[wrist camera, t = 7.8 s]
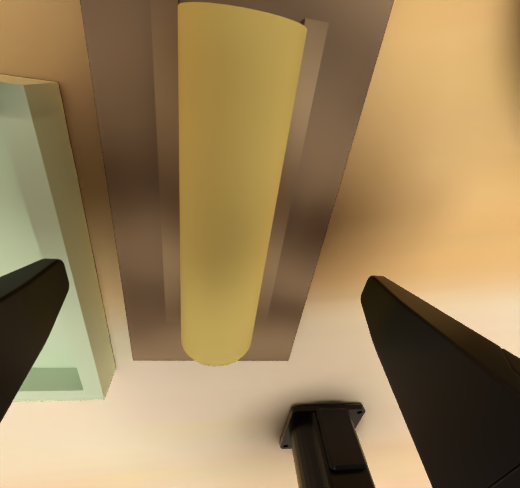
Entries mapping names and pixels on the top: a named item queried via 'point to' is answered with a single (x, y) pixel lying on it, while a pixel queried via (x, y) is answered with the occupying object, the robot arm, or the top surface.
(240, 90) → the yellow cylinder
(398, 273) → the top surface
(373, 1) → the holder board
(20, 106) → the tray
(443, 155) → the top surface
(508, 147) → the top surface
